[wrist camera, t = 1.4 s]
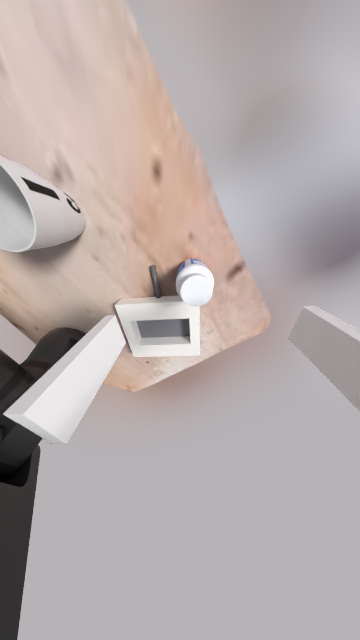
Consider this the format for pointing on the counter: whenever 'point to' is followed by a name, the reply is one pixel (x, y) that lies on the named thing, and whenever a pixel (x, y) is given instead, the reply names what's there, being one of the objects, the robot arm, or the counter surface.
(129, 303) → the dock
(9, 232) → the cup
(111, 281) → the counter surface
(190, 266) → the pill bottle
